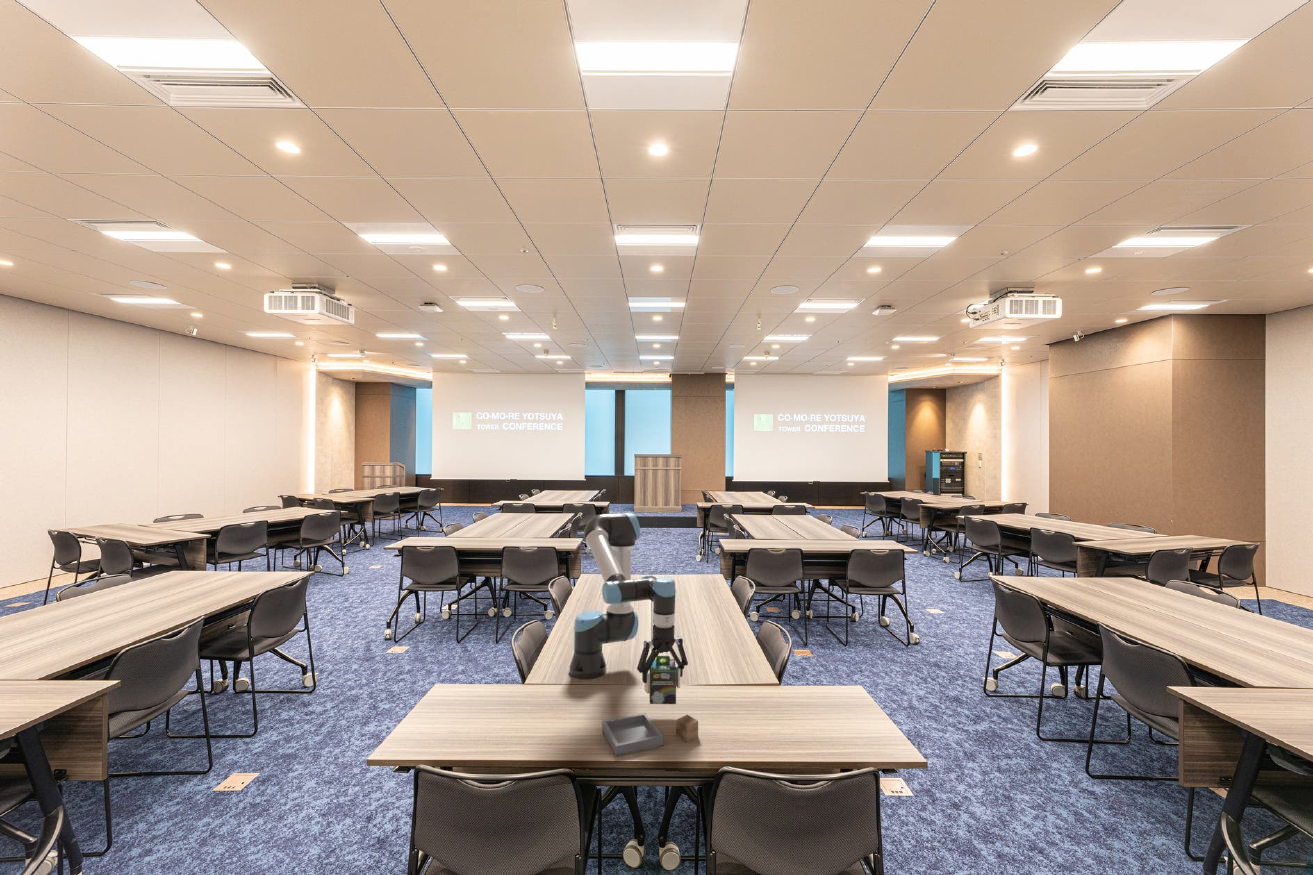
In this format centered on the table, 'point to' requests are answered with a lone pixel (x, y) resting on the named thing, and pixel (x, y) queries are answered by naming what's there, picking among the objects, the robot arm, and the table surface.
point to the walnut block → (687, 728)
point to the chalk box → (662, 681)
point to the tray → (631, 734)
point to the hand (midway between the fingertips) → (662, 688)
